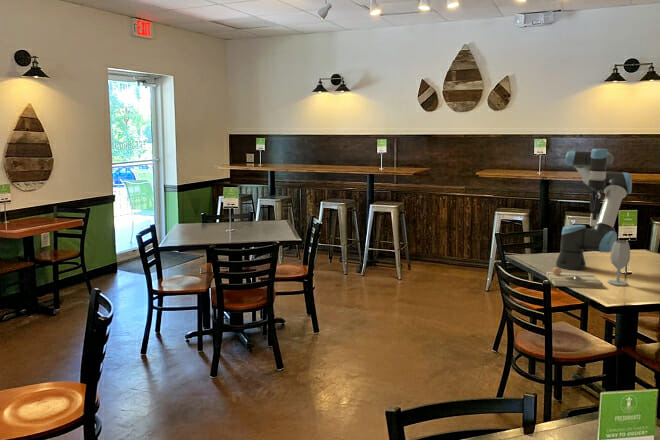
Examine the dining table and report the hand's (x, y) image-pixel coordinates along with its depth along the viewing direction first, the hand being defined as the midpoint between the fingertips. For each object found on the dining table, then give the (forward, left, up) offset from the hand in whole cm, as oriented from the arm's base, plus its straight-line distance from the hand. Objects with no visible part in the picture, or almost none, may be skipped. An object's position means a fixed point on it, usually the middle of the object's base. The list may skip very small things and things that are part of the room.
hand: (593, 225), depth 295 cm
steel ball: (+18, -11, -24) cm, 32 cm away
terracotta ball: (+11, -19, -22) cm, 31 cm away
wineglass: (+13, +10, -27) cm, 31 cm away
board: (+14, -11, -26) cm, 32 cm away
